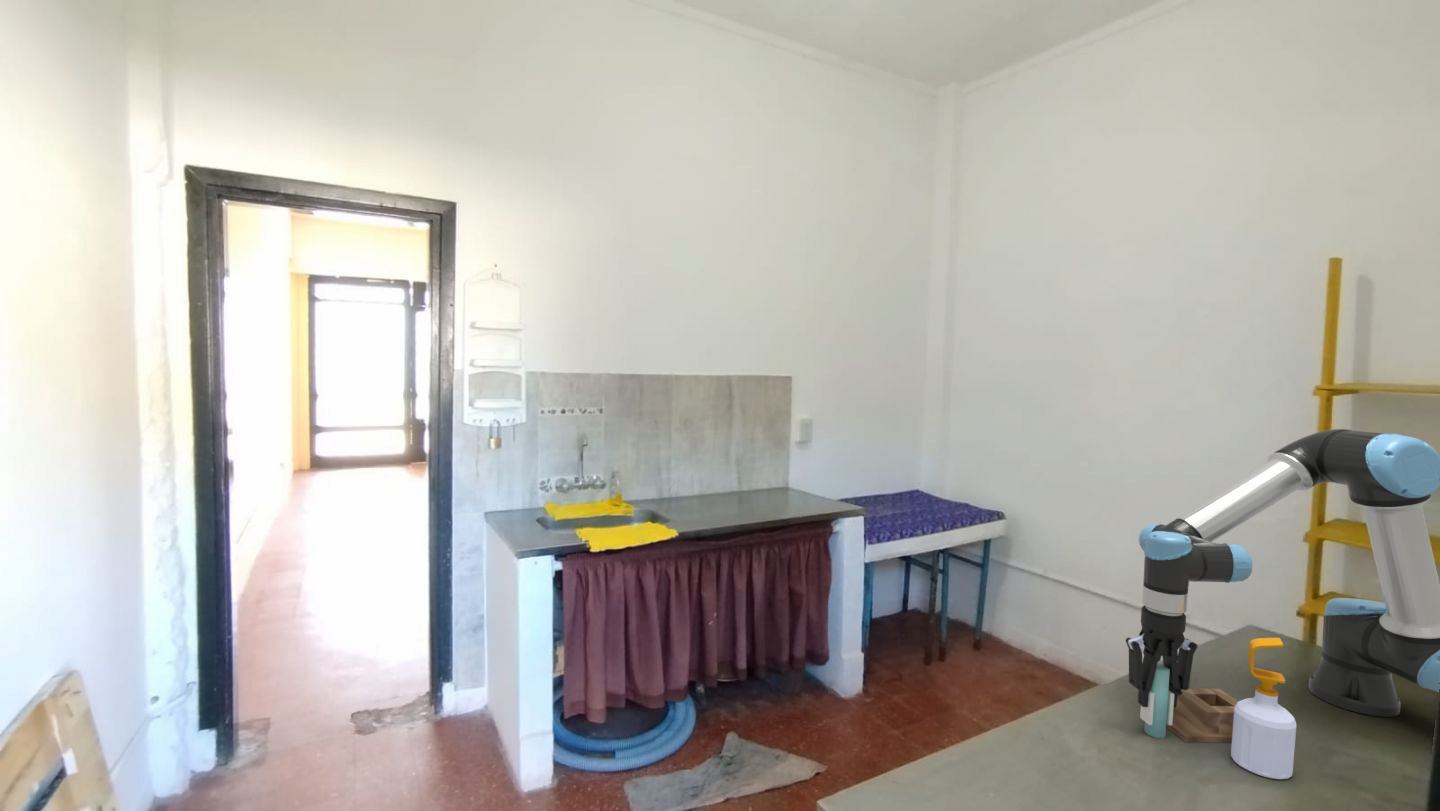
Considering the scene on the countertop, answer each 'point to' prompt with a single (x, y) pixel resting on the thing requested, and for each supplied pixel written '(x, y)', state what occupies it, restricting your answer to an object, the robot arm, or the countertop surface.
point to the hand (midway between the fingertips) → (1156, 721)
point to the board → (1203, 716)
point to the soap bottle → (1264, 724)
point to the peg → (1159, 702)
